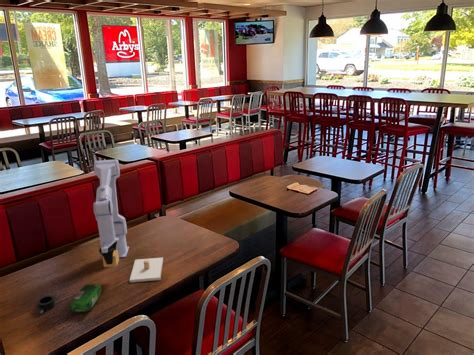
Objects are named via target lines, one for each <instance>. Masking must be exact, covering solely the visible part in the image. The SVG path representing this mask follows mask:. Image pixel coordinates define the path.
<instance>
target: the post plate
mask: <svg viewBox="0 0 474 355" xmlns="http://www.w3.org/2000/svg"><path fill="white" fill-rule="evenodd" d="M163 264H164V257H153V258H152V257H151V258H140V259H139V258H138V259H135V260H134V263H133V266H132V270H131V273H130V275H129V276H130V277H129V283H141V282H149V281H161V278H162V277H161V276H162V271H163Z"/></svg>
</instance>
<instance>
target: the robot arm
mask: <svg viewBox="0 0 474 355" xmlns="http://www.w3.org/2000/svg"><path fill="white" fill-rule="evenodd" d="M93 169H94V173H95V175H96V177H97V178H98V179H99V186H98V187H97V189H96V195H95V196H96V197H95V202H93V214H94V217H95V220H96V221H97V227H98V233H99V243H100V246H101V247H100V248H99V250H98V252H99V253H100V254H101V256H102V257H104V259H105V261H106V264H107V265H108V264H112V263H113V252H114V250H118V255H119V258H126V257H127V255H128V253H129V252H128V251H129V249H130V246H127V245H128V244H127V238H126V235H127V234H128V227H127V226H128V225H127V222H126V218H125V217H124V216H123V215H121V214H119V207H118V205H119V204H118V197H117V196H118V195H117V186H116V181H117V179H118V178H120V176H121V171H120V163H119V160H118V159H117V158H115V159H106V160H95V161H93Z"/></svg>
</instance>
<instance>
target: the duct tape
mask: <svg viewBox="0 0 474 355" xmlns="http://www.w3.org/2000/svg"><path fill="white" fill-rule="evenodd" d="M56 297H57V294H56V293H55V294H53V293H52V294H50V295H48V294H47V295H44V296H42V297H40V298H38V299H37V301H36V304H37V305H36V308H35V309H36V311H35V313H36V314H39V315H41V314H43V312H47V311H50V310H52V309H54V308H55V307H56V306H57V303H56Z"/></svg>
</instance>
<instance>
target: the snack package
mask: <svg viewBox="0 0 474 355" xmlns="http://www.w3.org/2000/svg"><path fill="white" fill-rule="evenodd" d="M101 294H102V285H101V284H100V283H89V284H84V285H83V286H82V287H81V288H80V290H79V291H78V293H77V294H76V295H75V297H74V298H73V299H72V300H71V303H70V310H71V311H72V312H75V313H76V312H77V313H78V312H83V313H87V312H88V311H91V309H92V308H93V307H94V306H95V304H96V303H97V301H98V299H99V298H100V296H101Z"/></svg>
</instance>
